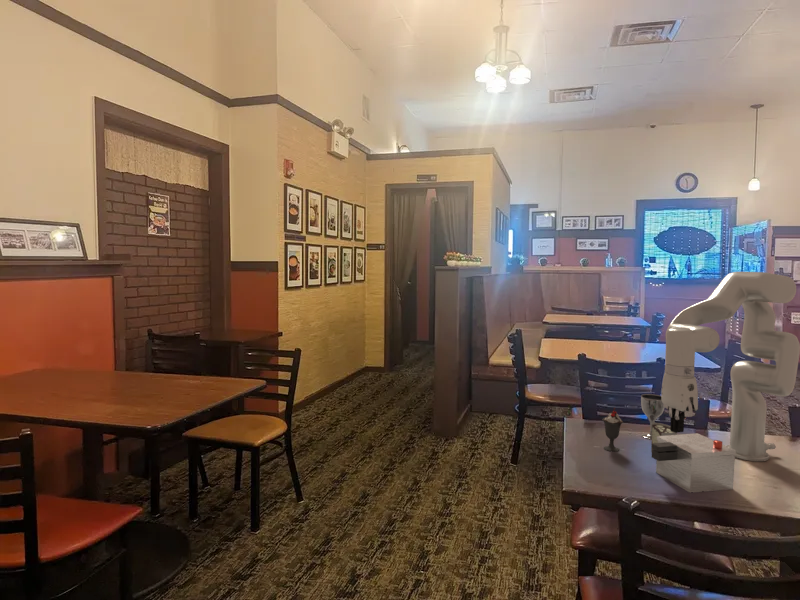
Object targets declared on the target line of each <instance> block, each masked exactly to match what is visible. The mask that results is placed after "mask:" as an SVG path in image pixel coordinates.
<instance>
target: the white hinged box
mask: <svg viewBox="0 0 800 600" xmlns="http://www.w3.org/2000/svg"><path fill="white" fill-rule="evenodd" d="M658 443H661V442H659V441H658ZM651 458H652V459H655V460H656V464H655V473H657V474H658V475H660V477H662V478H665V479H666V480H668V481H670V483H672V484H675V485H676V486H678V487H679V488H681V489H683V490H685V491H686V492H687V493H690V494H691V492H693V493H703V492H702V491H704V492H712V491H713V492H714V491H726V490H734V477H735V462H736V461H735V460H736V459H735V458H736V457H735V455H722V456H709V457H696V458H691V457H689V456H687V455H685V454H683V453H681V452H679V451H677V450H676V451H663V452H658V451H656V450H654V449H652V452H651Z"/></svg>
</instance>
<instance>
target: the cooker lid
mask: <svg viewBox="0 0 800 600" xmlns="http://www.w3.org/2000/svg"><path fill="white" fill-rule="evenodd" d="M657 440H658V441H659V442H661V443H652V442H651V443H652V449H654V450H656V451H658V452H663V451H676V450H677V451H679V452H681V453H683V454H685V455H687V456H689V457H691V458H696V457H709V456H722V455H734V454H736V450H734V449H732V448H730V447H727V445H724V444H723V441H721V440H717V439H711V438H709V437H707V436H705V435H703V434H700V433H684V434H677V435H667V436H657Z"/></svg>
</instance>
